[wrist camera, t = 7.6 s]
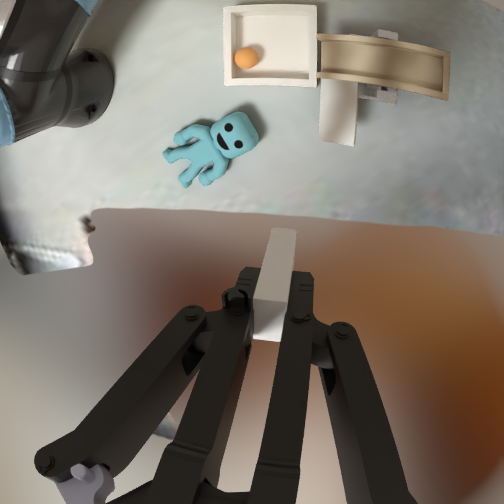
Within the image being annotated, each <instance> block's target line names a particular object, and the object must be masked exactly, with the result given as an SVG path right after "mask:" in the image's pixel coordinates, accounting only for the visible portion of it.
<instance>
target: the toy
mask: <svg viewBox="0 0 504 504" xmlns="http://www.w3.org/2000/svg"><path fill="white" fill-rule="evenodd" d="M192 137H196V138H199V139H200V140H199V141H197V142H196V143H194V144H193V145H191V146H186V147H179V148H176V149H174V150H173V151H172V150H170V149H167V150H165V151H163V156H164V157H165V159H166V160H167V162H168V163H173V162H175V161H177V160H178V159H182V158H188V159H189V160H190V162H191V165H190V166H189V168H188V169H187V170H186V171H185V172H183V173H182V174H180V175H179V177H178V179H179V181H180V183H181V184H182V186H183V187H184V188H188V187H189V186H190V184H191V180H192V179H194V178H195V177H196V176H197V174H198V173H199V172H200V170H201V169H202V167H204V166H205V165H207V164H209V163H211V162H214V166H213V168H212V169H210V170H205V171H203V172H202V173H201V174H200V175H199V182H200V183H201V184H202V185H204V186H208V185H210V184H211V183H212V182H213V181H214V180H216V179H217V178H219V177H221V176H223V175H224V174H225V172H226V169H227V165H228V162H229V159H228V158H236V157H238V156H240V155H242V154H244V153H246V152H248V151H250V150H252V149H253V148H254V147H255V146H256V145H257V144H258V141H259V136H258V134H257V132H256V130H255V128H254V127H253V125H252V123H251V121H250V120H249V118H248V116H247V115H246V114H245V113H243V112H234V113H231V114H229V115H227V116H226V117H224V118H222V119H221V120H219V121H217V122H216V123H214V124H213V125H212V127H211V129H210V128H209V127H208V126H203V125H199V124H193V125H191V126H189V127H188V128H186V129H185V130H181V131H179V132H177V133H176V134H175V135H174V141H175V143H176V144H177V145H184V144H186V143H188V142H189V141H190V139H191V138H192Z"/></svg>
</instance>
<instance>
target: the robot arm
mask: <svg viewBox="0 0 504 504" xmlns="http://www.w3.org/2000/svg"><path fill="white" fill-rule="evenodd" d="M97 1H98V0H0V148H1V147H3V146H6V145H11V144H13V143H15V142H17V141H19V140H21V139H24V138H26V137H28V136H30V135H33V134H35V133H38V132H40V131H43V130H45V129H48V128H50V127H53V126H62V127H71V128H77V127H82V126H85V125H88V124H91V123H93V122H94V121H96V120H97V119H98V118H99V117H100V116H101V115H102V114H103V113H104V111H105V110H106V108H107V106H108V104H109V102H110V99H111V96H112V91H113V72H112V68H111V65H110V63H109V61H108V59H107V58H106V57H105V56H104V55H103V54H102V53H101V52H99V51H97V50H94V49H79V50H75V51H73V52H70V51H71V49H72V47H73V45H74V43H75V41H76V39H77V37H78V35H79V33H80V31H81V29H82V28H83V26H84V24H85V22H86V20H87V19H88V17H89V16H91V14H92V10H93V8H94V6H95V5H96V3H97ZM295 244H296V229H285V228H272V231H271V235H270V239H269V243H268V246H267V250H266V253H265V257H264V261H263V264H262V268H254V267H245V268H244V269H243V270H242V271H241V272H240V274H239V277H238V280H237V282H236V285H235V287H234V288H230V289H227V290H226V291H224V292H223V294H222V303H223V309H221V310H218V311H212V312H205V310H204V309H203V308H202V307H200V306H197V305H189V306H186V307H184V308H182V309H181V310H180V311H179V312H178V313H177V314H176V316H175V317H174V318H173V319H172V320H171V321H170V322H169V323H168V324H167V326H166V327H165V328H164V329H163V330H162V331H161V332H160V333H159V335H158V336H157V337H156V338H155V339H154V340H153V341H152V342H151V343H150V344H149V346H148V347H147V348H146V349H145V350H144V351H143V352H142V353H141V355H140V356H139V357H138V358H137V359H136V360H135V361H134V362H133V364H132V365H131V366H130V367H129V368H128V369H127V370H126V372H125V373H124V374H123V375H122V376H121V377H120V378H119V379H118V381H117V382H116V383H115V384H114V385H113V386H112V388H111V389H110V390H109V391H108V392H107V393H106V394H105V396H104V397H103V398H102V399H101V400H100V401H99V402H98V404H97V405H96V406H95V407H94V408H93V409H92V410H91V411H90V413H89V414H88V415H87V416H86V417H85V419H84V420H83V421H82V422H81V423H80V424H79V426H77V428H76V429H75V430H74V431H72V432H70V433H68V434H67V435H65V436H63V437H61V438H59V439H57V440H56V441H54V442H52V443H50V444H48V445H46V446H44V447H42V448H41V449H40V450H38V451H37V453H36V455H35V459H34V463H35V467H36V469H37V471H38V472H39V473H40V474H41V475H43V476H44V477H46V478H48V479H50V480H52V481H54V482H55V483H56V485H57V487H58V489H59V491H60V493H61V495H62V496H63V498H64V500H65V502H66V504H105V500H106V498H107V496H108V495H109V494H110V493H111V492H113V491H114V489H115V486H114V479H113V478H114V477H116V476H117V475H118V474H119V473H121V472H122V471H123V470H124V469H125V468H126V467H127V466H128V465H129V463H130V462H131V461H132V460H133V459H134V457H135V456H136V455H137V453H138V452H139V450H140V449H141V448H142V447H143V445H144V444H145V443H146V441H147V440H148V439H149V437H150V436H151V435H152V433H153V432H154V431H155V429H156V428H157V427H158V425H159V424H160V423H161V421H162V420H163V419H164V417H165V416H166V415H167V413H168V412H169V411H170V409H171V408H172V406H173V405H174V404H175V402H176V401H177V400H178V398H179V397H180V396H181V394H182V393H183V391H184V390H185V389H186V387H187V386H188V384H189V383H190V382H191V380H192V379H193V377H194V376H195V375H196V373H197V372H198V371H199V369H200V371H199V373H198V376H197V379H196V381H195V384H194V387H193V389H192V392H191V395H190V398H189V400H188V403H187V406H186V408H185V411H184V414H183V417H182V419H181V422H180V425H179V427H178V430H177V433H176V436H175V438H174V440H173V442H171V443H170V444H168V445H167V447H166V448H165V450H164V452H163V454H162V457H161V459H160V462H159V465H158V468H157V470H156V473H155V476H154V478H153V480H151V481H149V482H147V483H145V484H143V485H141V486H139V487H138V488H136V489H134V490H132V491H130V492H128V493H126V494H124V495H122V496H120V497H118V498H116V499H114V500H112V501H110V502H108V503H106V504H295V503H296V497H297V491H298V485H299V479H300V458H301V451H302V444H303V437H304V428H305V419H306V410H307V401H308V390H309V379H310V367H311V364H314V365H316V366H318V368H319V372H320V377H321V381H322V385H323V389H324V394H325V398H326V403H327V407H328V412H329V416H330V420H331V425H332V429H333V434H334V439H335V444H336V448H337V454H338V459H339V464H340V468H341V474H342V479H343V484H344V489H345V495H346V501H347V504H418V503H417V502H416V500H415V499H414V498H413V497H412V495H411V494H410V493H409V491H408V488H407V483H406V480H405V476H404V472H403V468H402V465H401V461H400V458H399V454H398V451H397V447H396V444H395V441H394V437H393V434H392V431H391V428H390V424H389V421H388V418H387V415H386V412H385V409H384V406H383V403H382V400H381V397H380V394H379V391H378V388H377V385H376V383H375V380H374V377H373V374H372V371H371V369H370V366H369V363H368V361H367V358H366V355H365V352H364V350H363V347H362V345H361V342H360V339H359V337H358V334H357V332H356V330H355V328H354V327H353V326H352V325H350V324H348V323H345V322H336V323H333V324H332V325H330V326H329V325H326V324H324V323H321V322H320V321H318V320H317V319H316V318H315V316H314V314H313V291H314V287H313V286H314V278H313V276H312V275H311V273H310V272H300V271H293V267H294V255H295ZM252 337H253V338H254V339H260V340H268V341H276V342H280V347H279V353H278V359H277V365H276V370H275V377H274V382H273V387H272V393H271V398H270V403H269V409H268V414H267V419H266V424H265V429H264V434H263V438H262V443H261V448H260V453H259V457H258V461H257V464H256V468H255V472H254V477H253V481H252V485H251V490H250V492H231V493H230V492H229V493H228V492H223V491H221V490H219V489H217V485H218V481H219V476H220V467H221V463H222V459H223V455H224V452H225V448H226V444H227V441H228V437H229V433H230V430H231V426H232V422H233V418H234V414H235V410H236V407H237V402H238V399H239V395H240V391H241V387H242V383H243V379H244V376H245V372H246V367H247V363H248V359H249V355H250V351H251V347H252V345H251V341H252Z"/></svg>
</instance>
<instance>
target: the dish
mask: <svg viewBox="0 0 504 504" xmlns="http://www.w3.org/2000/svg"><path fill="white" fill-rule="evenodd" d="M223 33H224V86H240V85H277V86H300V87H314V88H317V78H316V72H317V39H316V34H317V8H316V5H303V4H255V5H239V6H228V7H223ZM246 47H247V48H252V49H253V50H255V51H256V52H257V54H258V62H257V64H256V65H255V66H254V67H252V68H250V69H243V68H240V67H239V66H238V65H237V64H236V63H235V60H234V57H235V54H236V52H237V51H238V50H240V49H241V48H246Z"/></svg>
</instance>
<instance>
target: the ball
mask: <svg viewBox="0 0 504 504" xmlns="http://www.w3.org/2000/svg"><path fill="white" fill-rule="evenodd" d="M234 60H235V63H236V64H237V65H238V66H239V67H240V68H243V69H250V68H252V67H254V66H255V65H256V64H257V62H258V54H257V52H256V51H255V50H253V49H252V48H247V47H246V48H241V49H240V50H238V51H237V52H236V54H235V57H234Z"/></svg>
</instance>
